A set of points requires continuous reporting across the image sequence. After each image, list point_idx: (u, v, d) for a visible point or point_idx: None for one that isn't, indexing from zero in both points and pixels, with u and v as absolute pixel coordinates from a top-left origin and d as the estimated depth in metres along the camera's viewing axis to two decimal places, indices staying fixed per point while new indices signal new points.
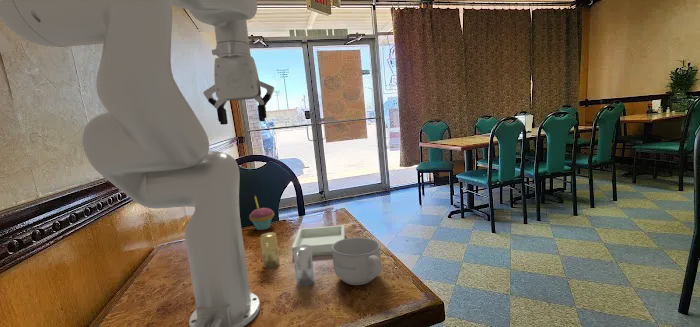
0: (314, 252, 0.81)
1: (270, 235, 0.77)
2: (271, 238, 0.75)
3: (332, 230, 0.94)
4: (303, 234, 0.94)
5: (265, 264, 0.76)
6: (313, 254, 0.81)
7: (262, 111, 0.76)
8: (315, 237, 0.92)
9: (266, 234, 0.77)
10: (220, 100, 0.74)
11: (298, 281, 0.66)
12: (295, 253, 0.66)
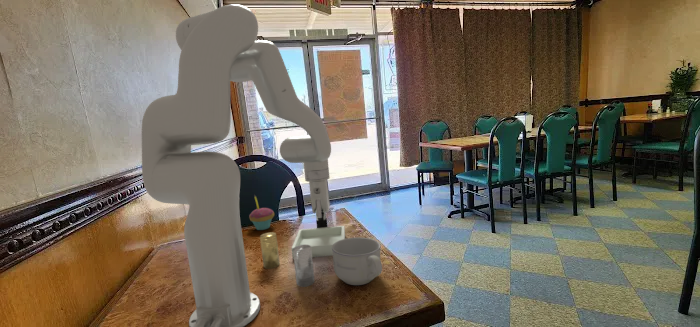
0: (314, 253, 0.80)
1: (270, 235, 0.77)
2: (271, 238, 0.75)
3: (332, 231, 0.93)
4: (303, 235, 0.93)
5: (265, 264, 0.76)
6: (313, 255, 0.80)
7: None
8: (315, 237, 0.92)
9: (266, 234, 0.77)
10: (324, 213, 0.94)
11: (298, 281, 0.66)
12: (295, 253, 0.66)
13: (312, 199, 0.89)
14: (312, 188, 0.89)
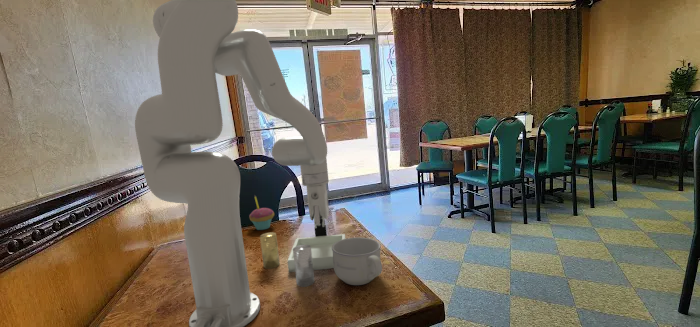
0: None
1: (270, 235, 0.77)
2: (271, 238, 0.75)
3: (332, 240, 0.86)
4: (300, 244, 0.86)
5: (265, 264, 0.76)
6: None
7: None
8: (314, 247, 0.85)
9: (266, 234, 0.77)
10: (323, 220, 0.86)
11: (298, 281, 0.66)
12: (295, 253, 0.66)
13: (310, 205, 0.82)
14: (310, 193, 0.82)
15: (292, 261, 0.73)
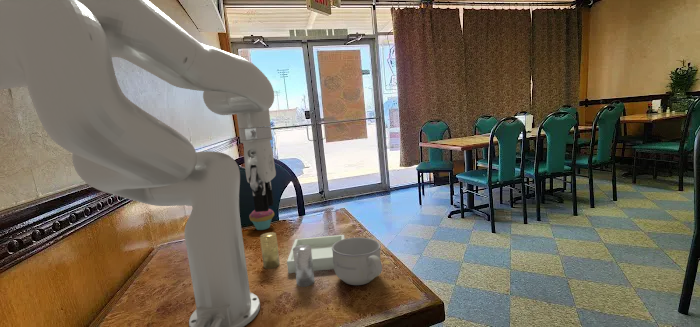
0: None
1: (270, 235, 0.77)
2: (271, 238, 0.75)
3: (331, 240, 0.86)
4: None
5: (265, 264, 0.76)
6: None
7: None
8: (313, 248, 0.84)
9: (266, 234, 0.77)
10: (264, 185, 0.72)
11: (298, 281, 0.66)
12: (295, 253, 0.66)
13: (246, 165, 0.69)
14: (246, 150, 0.69)
15: (291, 262, 0.72)
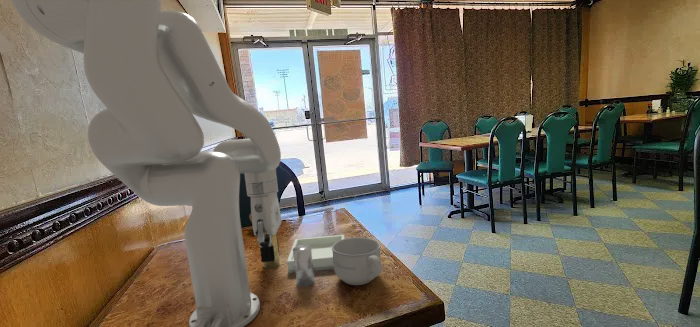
0: None
1: None
2: (271, 238, 0.75)
3: (331, 240, 0.86)
4: None
5: (265, 264, 0.76)
6: None
7: None
8: (313, 248, 0.84)
9: None
10: (270, 237, 0.74)
11: (298, 281, 0.66)
12: (295, 253, 0.66)
13: (253, 219, 0.71)
14: (253, 205, 0.71)
15: (291, 262, 0.72)
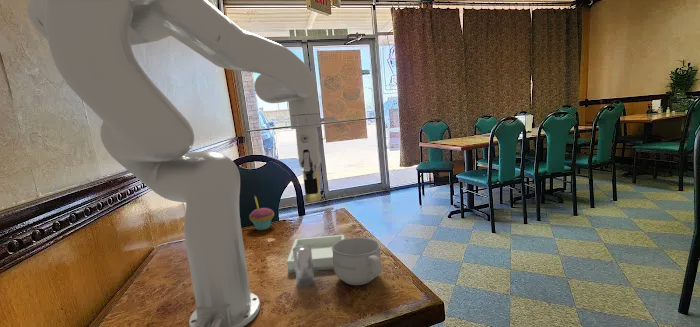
0: None
1: None
2: None
3: (331, 240, 0.86)
4: None
5: (308, 197, 0.79)
6: None
7: None
8: (313, 248, 0.84)
9: None
10: (314, 169, 0.77)
11: (298, 281, 0.66)
12: (295, 253, 0.66)
13: (299, 149, 0.74)
14: (299, 136, 0.73)
15: (292, 262, 0.72)
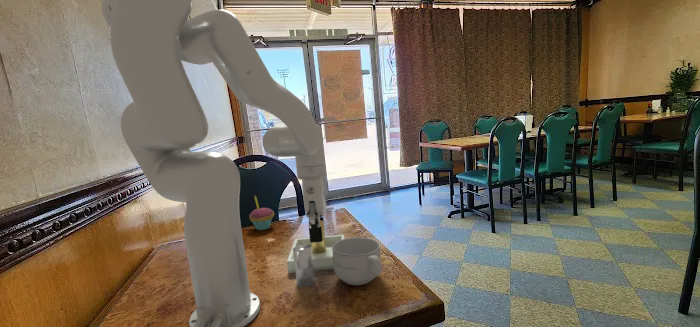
0: None
1: None
2: (320, 225, 0.80)
3: (331, 240, 0.86)
4: None
5: (314, 249, 0.80)
6: None
7: None
8: None
9: None
10: (319, 218, 0.77)
11: (298, 281, 0.66)
12: (295, 253, 0.66)
13: (305, 200, 0.75)
14: (305, 187, 0.75)
15: (292, 262, 0.72)
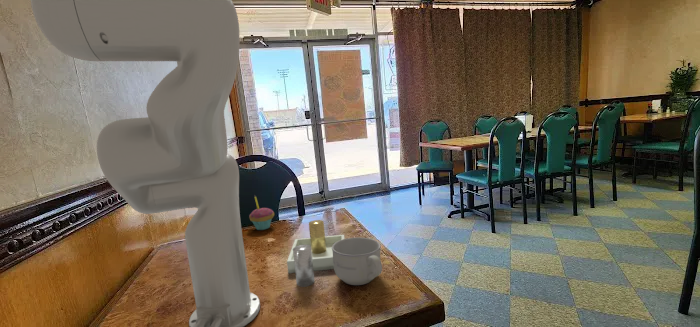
0: None
1: (318, 222, 0.81)
2: (320, 225, 0.80)
3: (331, 240, 0.86)
4: None
5: (314, 250, 0.80)
6: None
7: None
8: None
9: (314, 221, 0.82)
10: None
11: (298, 281, 0.66)
12: (295, 253, 0.66)
13: None
14: None
15: (292, 262, 0.72)
